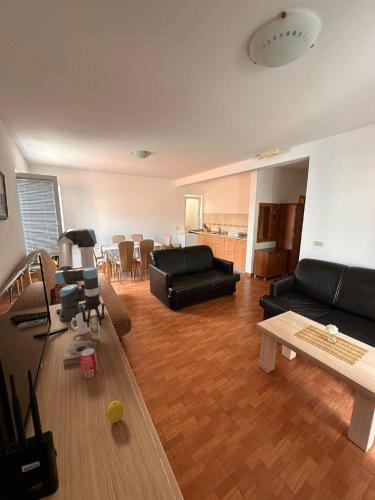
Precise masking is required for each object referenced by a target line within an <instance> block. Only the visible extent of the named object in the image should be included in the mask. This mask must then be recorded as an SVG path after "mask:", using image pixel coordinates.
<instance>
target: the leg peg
mask: <svg viewBox="0 0 375 500" xmlns="http://www.w3.org/2000/svg"><path fill="white" fill-rule="evenodd" d="M89 321H91V334H92V335H91V336H92V339H91V340H94V339H96V340H98V339H99V336H100V335H99V332H98V316H97V314H93V315H92V314H91V315H90V320H89Z"/></svg>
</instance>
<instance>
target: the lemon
mask: <svg viewBox="0 0 375 500" xmlns="http://www.w3.org/2000/svg"><path fill="white" fill-rule="evenodd" d="M123 413H124V407H123V404H122V402H121V401H119V400H117V399H116V400H112V402H110V403H109V405H108V406H107V410H106V415H107V416H106V417H107V419H108V421H109V422H110V423H112V424H113V423H117V422H119V421H121V419H122V417H123V415H124V414H123Z"/></svg>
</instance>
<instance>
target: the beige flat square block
mask: <svg viewBox="0 0 375 500" xmlns="http://www.w3.org/2000/svg"><path fill="white" fill-rule="evenodd" d="M97 344H98V343H97V339H94V340H93V339H89V340H83V341H79V342H77V341H76V342H71V343H69V344H68V346H67V348H66V351H65V354H64V357H63V359H62V360H63V361H62V363H63V367H68V366H71V365H76V364H80V355H81V352H82V351H83V350H84V349H86V348H94V350H95V352H96V351H97V346H98V345H97ZM96 353H97V352H96Z"/></svg>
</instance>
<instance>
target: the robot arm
mask: <svg viewBox="0 0 375 500" xmlns="http://www.w3.org/2000/svg"><path fill="white" fill-rule="evenodd" d="M96 236H97V235H96V231H95V230H94V229H93V228H78V229H77V228H76V229H74V228H71V229H67V230H65V231H64V232H62V233H61V234H60V235H59V236H58V239H57V243H56V244H57V247H58V270H56V271H54V273H53V274H54V276H53V277H54V283H55V284H57V285H60V284H63V285H65V284H68V283H69V284H68V285H65V286H63V287H62V288H60V291H59V297H60V305H61V310H60V313H59V320H60V321H62V322H71V321H72V318H76V315H77V314H79V313H82V316H83V322H87V327H89V333H90V334H92V332H91V321H90V317H91V313H92V312H91V311H92V310H93V311H94V310H95V313H96V315H97V316H98V333H99V332H100V331H101V327H100V326H102V320H105V307H106V302H101V299H100V295H101V284H100V283H99V277H98V276H99V273H98V268H96V267H95V259H94V258H95V255H94V248H95V247H96V245H97V244H98V242H97V238H96ZM74 246H77V249H79V251H80V262H81V268H75V269H74V262H73V260H74V259H73V247H74ZM77 282H80V283H81V284H80V285H78V284H76V283H77ZM70 283H75V284H70ZM81 302H85V303H84V304H80V303H81ZM99 307H101V313H100V310H99ZM85 308H87V309H88V310H87V313H88V317H87V319H86V315H85V312H86V309H85Z"/></svg>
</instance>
